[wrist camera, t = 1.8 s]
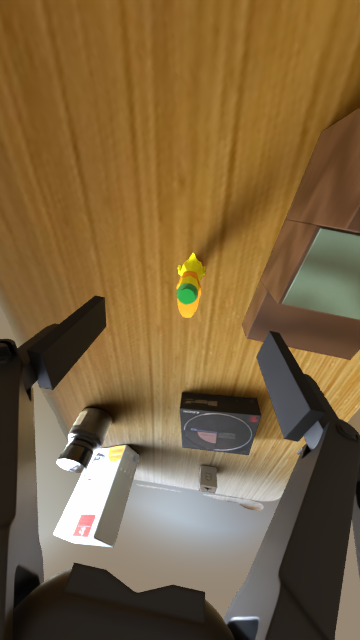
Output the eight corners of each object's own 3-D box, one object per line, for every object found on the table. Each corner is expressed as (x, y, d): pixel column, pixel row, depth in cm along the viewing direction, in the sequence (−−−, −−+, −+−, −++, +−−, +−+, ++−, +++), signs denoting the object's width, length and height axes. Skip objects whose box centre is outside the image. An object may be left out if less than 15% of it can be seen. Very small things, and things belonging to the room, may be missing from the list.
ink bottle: (80, 402, 50) (48, 452, 40) (112, 409, 50) (88, 461, 40) (84, 422, 55) (56, 470, 45) (113, 428, 55) (92, 478, 45)
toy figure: (202, 291, 30) (200, 336, 20) (180, 289, 30) (166, 332, 20) (207, 246, 26) (208, 272, 16) (182, 245, 26) (166, 269, 16)
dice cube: (216, 467, 60) (217, 487, 56) (214, 474, 63) (214, 493, 59) (200, 465, 61) (200, 484, 56) (199, 471, 63) (198, 490, 59)
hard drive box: (126, 443, 59) (94, 538, 42) (140, 455, 62) (116, 548, 45) (92, 449, 65) (51, 536, 48) (106, 460, 68) (73, 544, 51)
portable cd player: (184, 432, 52) (182, 448, 48) (182, 392, 43) (179, 408, 40) (245, 439, 50) (248, 456, 46) (256, 398, 41) (261, 415, 38)
